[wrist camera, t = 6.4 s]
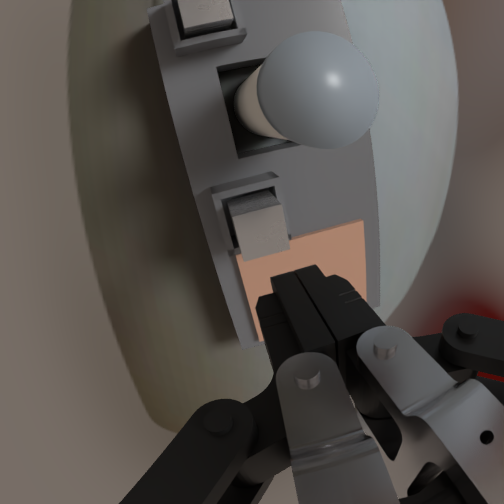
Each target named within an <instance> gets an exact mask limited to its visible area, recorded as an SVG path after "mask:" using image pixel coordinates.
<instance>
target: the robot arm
mask: <svg viewBox="0 0 504 504" xmlns="http://www.w3.org/2000/svg"><path fill="white" fill-rule="evenodd" d="M270 281H271V286H272V290H273V293H270V294H266V295H263V296H259V298H258V301H257V304H256V307H255V309H256V313H257V317H258V320H259V324H260V328H261V331H262V335H263V339H264V342H265V346H266V349H267V352H268V355H269V359H270V362H271V365H272V368H273V372H274V374H273V378H272V380H271V382H270V384H269V385H268V387H267V388H266V389H265V390H264V391H263V392H262V393H260V394H259V395H257V396H256V397H254V398H252V399H250V400H249V401H247V402H245V403H241V402H239V401H236V400H232V399H219V400H214V401H211V402H209V403H206V404H205V405H203V406H201V407H200V408H199V409H198V410H197V411H196V412H195V413H194V414H193V415H192V416H191V418H190V419H189V420H188V421H187V423H186V424H185V425H184V427H183V428H182V429H181V430H180V432H179V433H178V434H177V435H176V437H175V438H174V439H173V440H172V442H171V443H170V444H169V445H168V446H167V448H166V449H165V450H164V451H163V453H162V454H161V455H160V456H159V457H158V459H157V460H156V461H155V462H154V463H153V465H152V466H151V467H150V468H149V469H148V471H147V472H146V473H145V474H144V475H143V476H142V478H141V479H140V480H139V481H138V482H137V484H136V485H135V486H134V487H133V488H132V489H131V490H130V492H129V493H128V494H127V495H126V496H125V497H124V499H123V500H122V501H121V502H120V503H119V504H258V503H259V501H260V500H261V498H262V496H263V495H264V493H265V491H266V490H267V488H268V486H269V485H270V483H271V481H272V480H273V477H274V475H276V474H278V473H280V472H281V471H283V470H285V469H286V468H288V467H289V466H292V472H293V477H294V482H295V487H296V492H297V496H298V501H299V504H504V382H500V381H496V380H492V379H487V378H484V377H479V376H477V374H478V371H480V372H484V373H488V374H493V375H497V376H501V377H504V321H501V320H496V319H491V318H487V317H483V316H478V315H474V314H468V313H462V314H456V315H453V316H451V317H450V318H449V319H447V320H446V321H445V323H444V325H443V329H442V333H438V334H432V335H426V336H420V337H411V336H410V335H409V334H408V333H407V332H406V331H404V330H402V329H400V328H397V327H393V326H386V325H385V324H384V323H383V321H382V320H381V319H380V318H379V316H378V315H377V314H376V313H375V312H374V311H373V309H372V308H371V307H370V306H369V305H368V303H367V302H366V301H365V300H364V299H362V296H361V295H360V294H359V293H358V292H357V291H356V290H355V288H354V287H353V286H352V285H351V283H350V282H349V281H348V280H346V279H344V278H342V277H340V276H338V275H336V274H334V275H330V276H327V277H326V276H325V275H324V274H323V273H322V271H321V270H320V269H319V267H318V266H317V265H316V264H314V265H310V266H307V267H304V268H300V269H297V270H294V271H290V272H286V273H283V274H279V275H276V276H272V277H270ZM349 395H351V397H352V399H353V401H354V403H355V408H354V406H353V403H352V401H351V399H350V396H349ZM363 430H364V431H365V433H366V434H367V435H366V434H365V433H364V431H363ZM397 496H398V497H397ZM398 498H399V499H398Z"/></svg>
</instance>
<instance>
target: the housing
mask: <svg viewBox="0 0 504 504" xmlns="http://www.w3.org/2000/svg"><path fill="white" fill-rule="evenodd" d="M163 1H164V4H162V5H158V6H155V7H151V8H148V9H147V12H148V17H149V22H150V26H151V31H152V35H153V40H154V44H155V49H156V53H157V57H158V62H159V66H160V70H161V74H162V78H163V82H164V87H165V91H166V95H167V99H168V103H169V107H170V110H171V114H172V118H173V122H174V126H175V130H176V134H177V137H178V141H179V145H180V149H181V152H182V156H183V160H184V163H185V167H186V170H187V174H188V177H189V181H190V185H191V188H192V192H193V195H194V199H195V202H196V205H197V209H198V212H199V216H200V219H201V222H202V226H203V229H204V232H205V236H206V239H207V242H208V246H209V249H210V252H211V255H212V259H213V262H214V265H215V268H216V271H217V275H218V278H219V281H220V284H221V287H222V290H223V293H224V296H225V299H226V303H227V306H228V309H229V312H230V315H231V318H232V321H233V324H234V327H235V330H236V333H237V336H238V339H239V341H240V344H241V347H242V350H243V349H247V348H251V347H255V346H258V345H262V344H265V342H264V339H263V335H262V331H261V328H260V324H259V320H258V317H257V313H256V309H255V307H256V304H257V301H258V298H259V296H263V295H266V294H270V293H273V290H272V286H271V281H270V277H272V276H276V275H279V274H283V273H286V272H290V271H294V270H297V269H300V268H304V267H307V266H310V265H314V264H316V265H317V266H318V267H319V269H320V270H321V271H322V273H323V274H324V275H325V276H326V277H327V276H330V275H334V274H336V275H338V276H340V277H342V278H344V279H346V280H348V281H349V282H350V283H351V285H352V286H353V287H354V288H355V290H356V291H357V292H358V293H359V294H360V295H361V296H362V299H364V300H365V301H366V302H367V303H368V305H369V306H370V307H371V308H375V307H378V306H380V239H379V217H378V202H377V189H376V178H375V168H374V159H373V150H372V143H371V135H370V128H369V129H368V130H367V132H366V133H365V134H364V135H363V136H362V137H360V138H359V139H358V140H356V141H355V142H353V143H351V144H349V145H347V146H344V147H340V148H335V149H320V148H314V147H309V146H305V145H301V144H297V143H295V142H289V143H284V144H279V145H274V146H270V147H265V148H261V149H256V150H252V151H248V152H244V153H239V154H237V152H236V147H235V143H234V139H233V135H232V131H231V127H230V122H229V118H228V114H227V110H226V106H225V102H224V98H223V93H222V89H221V85H220V81H219V77H218V72H222V71H227V70H232V69H237V68H242V67H248V66H253V65H259V64H263V62H264V60H265V59H266V58H267V56H268V55H269V54H270V53H271V52H272V51H273V50H274V49H275V48H276V47H277V46H278V45H280V44H281V43H282V42H283V41H285V40H286V39H288V38H289V37H291V36H294V35H296V34H299V33H303V32H309V31H321V32H328V33H331V34H335V35H337V36H340V37H342V38H344V39H346V40H347V41H349V42H350V43H352V44H353V42H352V39H351V35H350V31H349V27H348V24H347V20H346V17H345V13H344V10H343V6H342V3H341V0H229V3H230V7H231V10H232V14H233V21H232V24H231V27H230V30H227V31H221V32H216V33H211V34H207V35H202V36H198V37H193V38H189V39H186V38H185V34H184V30H183V26H182V21H181V17H180V13H179V8H178V2H177V0H163ZM267 190H269V191H270V192H271V194H272V195H273V196H274V197H275V198H276V199H277V200H278V201H279V202H280V203H281V204H282V207H283V213H284V218H285V223H286V228H287V234H288V239H289V245H290V249H289V250H286V251H282V252H278V253H275V254H271V255H267V256H264V257H260V258H257V259H253V260H249V261H246V262H244V261H243V257H242V254H241V251H240V248H239V245H238V242H237V239H236V235H235V231H234V227H233V223H232V219H231V216H230V212H229V208H228V204H227V201H228V200H232V199H236V198H240V197H243V196H247V195H251V194H255V193H259V192H263V191H267Z"/></svg>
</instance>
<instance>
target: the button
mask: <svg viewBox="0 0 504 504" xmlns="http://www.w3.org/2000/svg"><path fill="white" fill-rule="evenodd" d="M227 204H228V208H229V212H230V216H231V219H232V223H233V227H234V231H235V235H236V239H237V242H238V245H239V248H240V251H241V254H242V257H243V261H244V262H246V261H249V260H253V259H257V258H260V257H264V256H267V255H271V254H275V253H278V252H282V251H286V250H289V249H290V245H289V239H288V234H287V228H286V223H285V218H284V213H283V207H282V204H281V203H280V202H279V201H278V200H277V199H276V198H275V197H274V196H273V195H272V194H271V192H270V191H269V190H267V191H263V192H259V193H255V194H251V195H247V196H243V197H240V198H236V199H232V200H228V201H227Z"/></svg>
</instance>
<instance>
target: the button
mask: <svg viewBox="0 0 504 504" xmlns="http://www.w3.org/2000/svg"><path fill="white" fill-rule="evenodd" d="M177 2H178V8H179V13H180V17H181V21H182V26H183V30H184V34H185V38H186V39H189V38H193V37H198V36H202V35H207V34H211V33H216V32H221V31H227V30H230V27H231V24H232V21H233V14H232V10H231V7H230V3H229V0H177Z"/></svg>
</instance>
